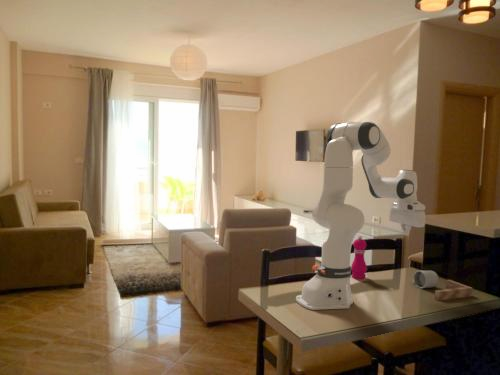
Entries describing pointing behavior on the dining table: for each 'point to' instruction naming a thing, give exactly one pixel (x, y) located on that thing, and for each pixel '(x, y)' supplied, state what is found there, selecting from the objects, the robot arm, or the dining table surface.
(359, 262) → the pepper mill
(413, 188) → the robot arm
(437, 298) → the walnut stop
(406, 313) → the dining table surface
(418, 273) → the ceramic mug
